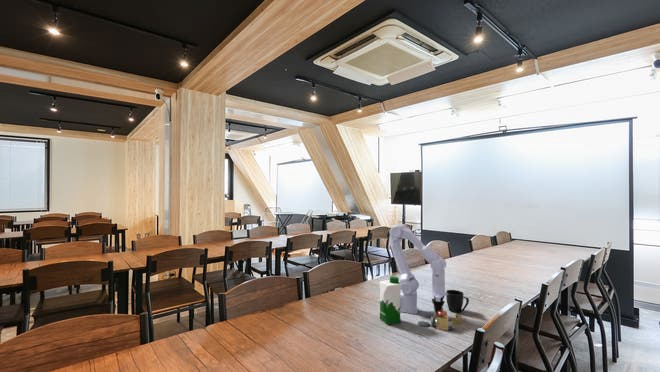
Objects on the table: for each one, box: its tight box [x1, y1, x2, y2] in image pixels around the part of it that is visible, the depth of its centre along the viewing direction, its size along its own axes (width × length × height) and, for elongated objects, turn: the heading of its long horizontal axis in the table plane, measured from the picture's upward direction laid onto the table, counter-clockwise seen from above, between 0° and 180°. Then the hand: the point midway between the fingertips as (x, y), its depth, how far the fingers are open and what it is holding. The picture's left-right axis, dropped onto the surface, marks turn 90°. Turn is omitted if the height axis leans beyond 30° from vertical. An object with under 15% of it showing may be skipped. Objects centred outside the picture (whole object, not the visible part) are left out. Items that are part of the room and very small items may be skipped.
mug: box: [445, 289, 470, 314], centre depth 151 cm, size 8×12×10 cm
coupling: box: [432, 306, 444, 319], centre depth 143 cm, size 4×4×5 cm
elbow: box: [450, 313, 463, 326], centre depth 137 cm, size 4×2×4 cm, turn 88°
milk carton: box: [379, 276, 402, 326], centre depth 139 cm, size 9×9×20 cm
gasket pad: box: [417, 320, 432, 328], centre depth 136 cm, size 6×6×1 cm
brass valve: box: [430, 309, 454, 331], centre depth 133 cm, size 9×5×7 cm, turn 68°
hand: (438, 311), depth 143 cm, fingers open, 7 cm apart
